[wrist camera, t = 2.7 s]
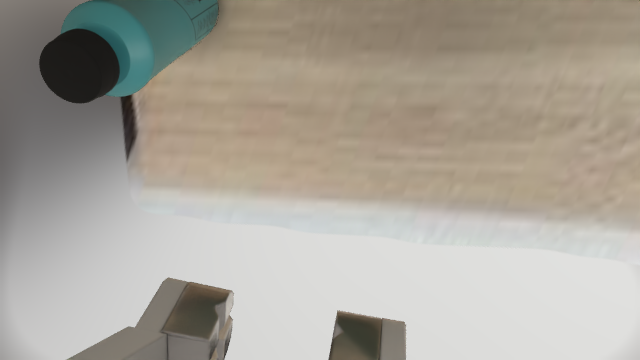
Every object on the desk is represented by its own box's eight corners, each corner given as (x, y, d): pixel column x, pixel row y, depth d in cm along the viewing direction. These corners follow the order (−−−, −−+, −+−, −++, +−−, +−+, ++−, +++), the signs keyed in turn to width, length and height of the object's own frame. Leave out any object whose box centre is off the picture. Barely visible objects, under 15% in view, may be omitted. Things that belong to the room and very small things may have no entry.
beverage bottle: (237, -15, 48) (138, 50, 30) (209, 52, 51) (106, 145, 33) (168, -54, 47) (26, -10, 29) (144, 16, 50) (4, 93, 33)
